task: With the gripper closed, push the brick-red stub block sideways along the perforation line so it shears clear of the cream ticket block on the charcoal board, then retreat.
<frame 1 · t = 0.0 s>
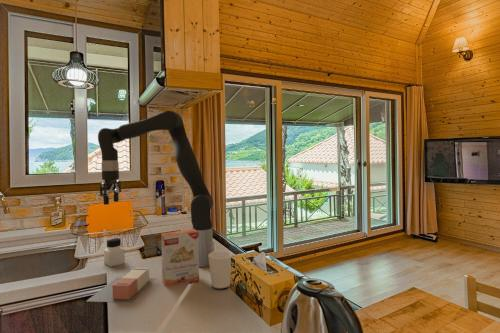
hand: (111, 203, 142), 29 cm above the countertop, fingers open, 8 cm apart
cracker box: (181, 283, 119), on the countertop
stub: (125, 288, 106), point 4 cm above the countertop, slide at 0.0 cm
cup: (221, 286, 115), on the countertop
ticket board: (123, 291, 112), on the countertop
medicine bottle: (114, 263, 142), on the countertop
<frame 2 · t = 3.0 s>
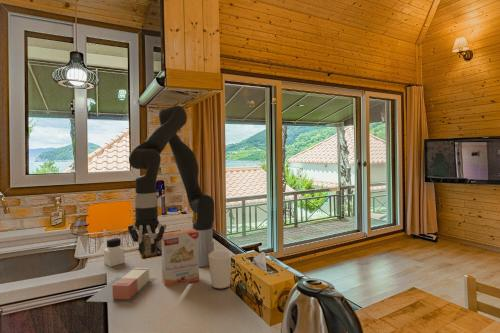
hand: (147, 252, 104), 17 cm above the countertop, fingers open, 3 cm apart
nothing on the countertop moved.
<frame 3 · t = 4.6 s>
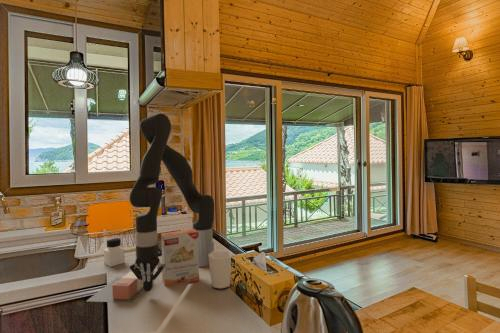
hand: (148, 290, 105), 3 cm above the countertop, fingers closed
nothing on the countertop moved.
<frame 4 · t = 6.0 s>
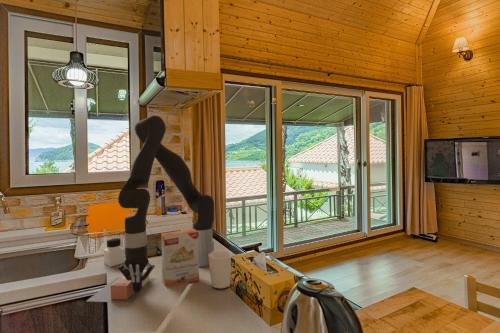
hand: (137, 291, 105), 3 cm above the countertop, fingers closed
stub: (123, 288, 106), point 4 cm above the countertop, slide at 0.7 cm, touching gripper
everything else where it was.
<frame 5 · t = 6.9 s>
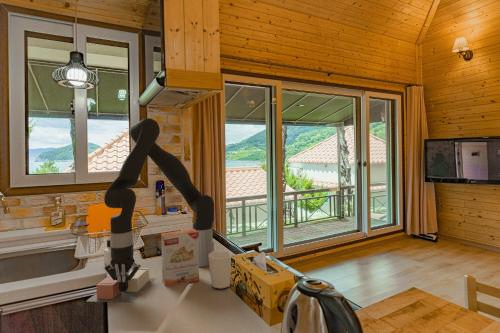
hand: (123, 290, 106), 3 cm above the countertop, fingers closed
stub: (109, 288, 106), point 4 cm above the countertop, slide at 6.0 cm, touching gripper
everything else where it was.
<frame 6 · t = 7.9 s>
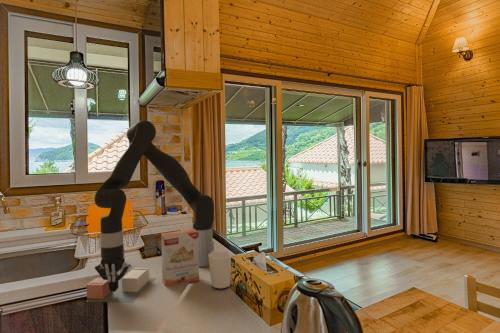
hand: (113, 290, 106), 3 cm above the countertop, fingers closed
stub: (99, 287, 107), point 4 cm above the countertop, slide at 9.7 cm, touching gripper
everything else where it was.
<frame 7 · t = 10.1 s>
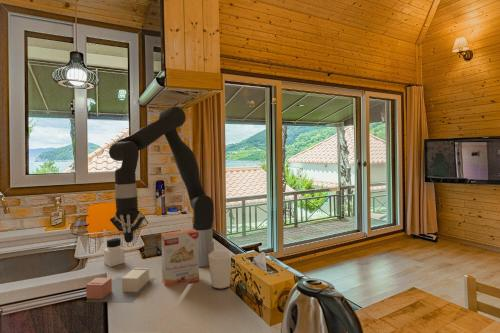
hand: (129, 241, 109), 20 cm above the countertop, fingers closed
stub: (99, 287, 107), point 4 cm above the countertop, slide at 9.8 cm
everything else where it was.
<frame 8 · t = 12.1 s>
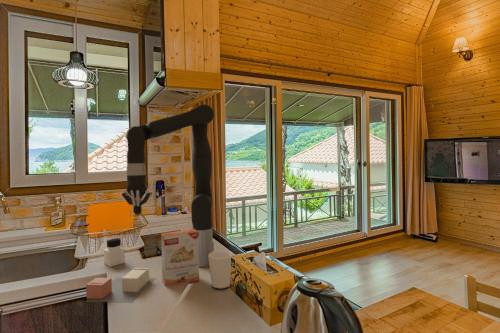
hand: (137, 214, 125), 27 cm above the countertop, fingers closed
nothing on the countertop moved.
at the end: stub slide at 9.8 cm; the gripper is holding nothing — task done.
